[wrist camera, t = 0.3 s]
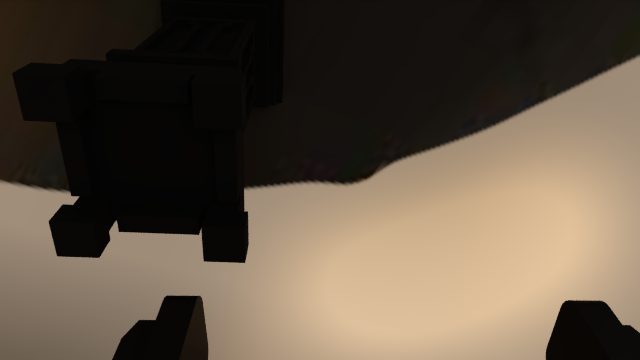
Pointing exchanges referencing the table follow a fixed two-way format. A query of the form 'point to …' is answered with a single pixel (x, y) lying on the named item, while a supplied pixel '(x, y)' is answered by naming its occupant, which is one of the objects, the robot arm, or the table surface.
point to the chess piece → (162, 126)
